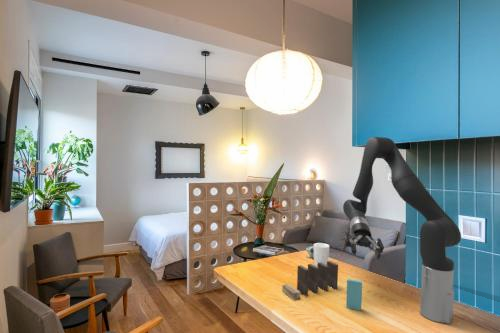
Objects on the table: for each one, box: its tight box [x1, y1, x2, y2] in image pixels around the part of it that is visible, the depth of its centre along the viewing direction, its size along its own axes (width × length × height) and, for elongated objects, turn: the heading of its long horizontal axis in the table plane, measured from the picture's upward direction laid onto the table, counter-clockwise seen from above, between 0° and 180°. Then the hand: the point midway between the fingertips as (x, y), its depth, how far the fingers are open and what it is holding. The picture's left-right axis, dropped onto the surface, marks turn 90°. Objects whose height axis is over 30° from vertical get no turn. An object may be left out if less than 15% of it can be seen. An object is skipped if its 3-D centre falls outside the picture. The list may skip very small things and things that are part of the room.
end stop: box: [281, 283, 301, 301], centre depth 116 cm, size 3×8×2 cm, turn 26°
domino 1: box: [296, 264, 309, 296], centre depth 118 cm, size 2×5×10 cm, turn 25°
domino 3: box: [317, 262, 329, 292], centre depth 122 cm, size 2×5×10 cm, turn 26°
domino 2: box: [307, 263, 319, 294], centre depth 120 cm, size 2×5×10 cm, turn 26°
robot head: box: [305, 245, 314, 259], centre depth 160 cm, size 8×4×7 cm, turn 72°
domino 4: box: [327, 260, 339, 290], centre depth 124 cm, size 2×5×10 cm, turn 26°
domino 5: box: [345, 278, 363, 312], centre depth 106 cm, size 2×5×10 cm, turn 66°
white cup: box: [313, 242, 330, 267], centre depth 151 cm, size 8×8×10 cm
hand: (366, 255), depth 113 cm, fingers open, 8 cm apart
